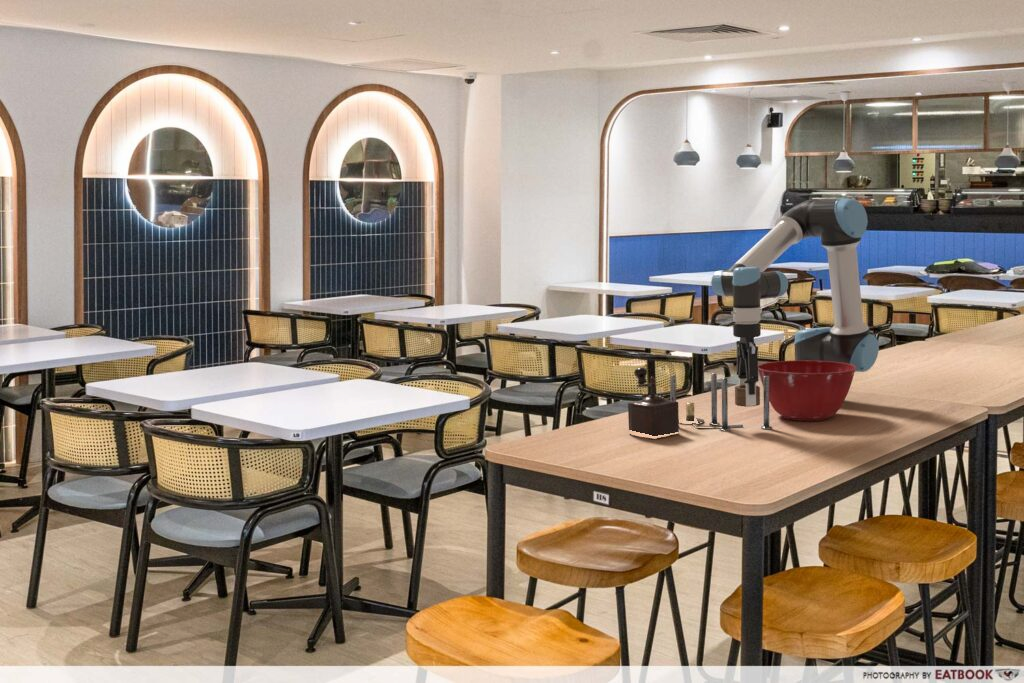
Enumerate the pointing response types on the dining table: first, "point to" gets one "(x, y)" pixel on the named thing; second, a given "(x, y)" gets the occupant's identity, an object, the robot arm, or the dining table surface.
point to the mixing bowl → (807, 387)
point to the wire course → (725, 401)
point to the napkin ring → (741, 395)
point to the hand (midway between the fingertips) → (747, 403)
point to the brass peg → (691, 412)
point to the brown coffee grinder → (652, 411)
